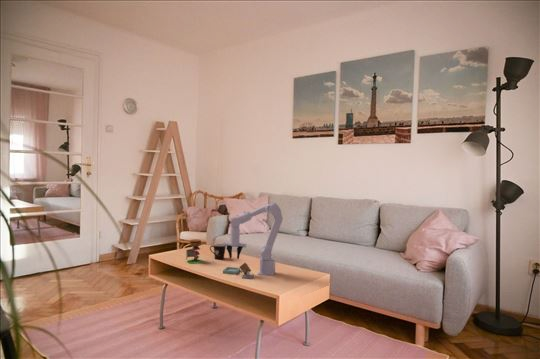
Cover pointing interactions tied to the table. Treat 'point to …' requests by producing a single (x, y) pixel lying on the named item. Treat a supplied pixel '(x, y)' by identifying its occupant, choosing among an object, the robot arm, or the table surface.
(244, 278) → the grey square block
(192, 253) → the toy tree house
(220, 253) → the coffee mug
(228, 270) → the tray
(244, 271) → the walnut ring block
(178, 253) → the table surface
